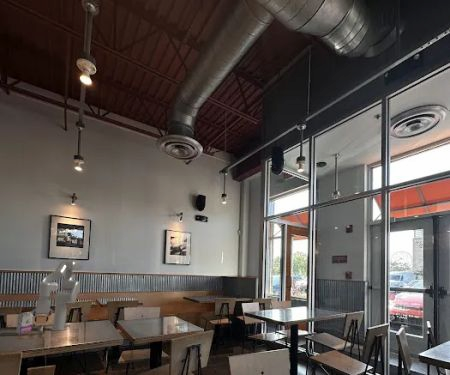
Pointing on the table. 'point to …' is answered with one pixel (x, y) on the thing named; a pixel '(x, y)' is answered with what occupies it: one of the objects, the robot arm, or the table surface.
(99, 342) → the table surface
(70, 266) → the robot arm
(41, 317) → the collar
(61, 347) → the table surface
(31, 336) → the post board
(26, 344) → the table surface
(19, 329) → the candy bar box
